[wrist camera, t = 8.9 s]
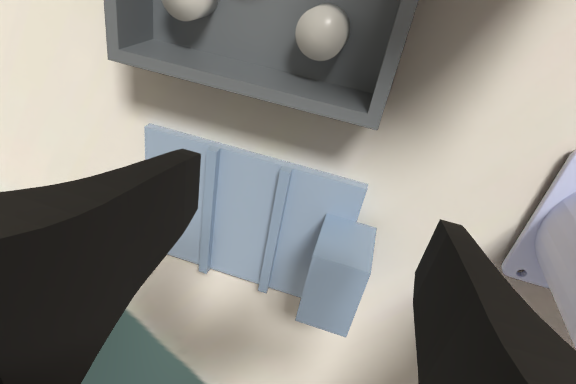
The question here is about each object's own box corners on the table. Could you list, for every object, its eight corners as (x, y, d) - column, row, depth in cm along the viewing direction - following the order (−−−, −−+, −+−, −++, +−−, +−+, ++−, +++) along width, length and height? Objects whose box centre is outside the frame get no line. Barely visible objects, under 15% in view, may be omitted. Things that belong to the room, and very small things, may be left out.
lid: (389, 186, 23) (384, 237, 19) (347, 301, 28) (336, 362, 24) (153, 121, 25) (101, 153, 21) (155, 239, 30) (113, 285, 26)
